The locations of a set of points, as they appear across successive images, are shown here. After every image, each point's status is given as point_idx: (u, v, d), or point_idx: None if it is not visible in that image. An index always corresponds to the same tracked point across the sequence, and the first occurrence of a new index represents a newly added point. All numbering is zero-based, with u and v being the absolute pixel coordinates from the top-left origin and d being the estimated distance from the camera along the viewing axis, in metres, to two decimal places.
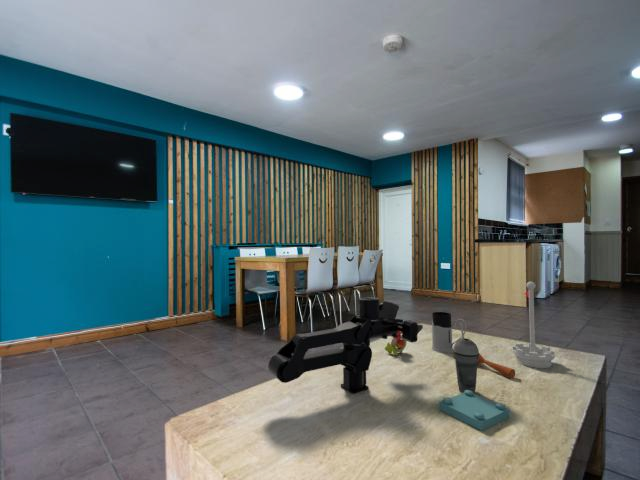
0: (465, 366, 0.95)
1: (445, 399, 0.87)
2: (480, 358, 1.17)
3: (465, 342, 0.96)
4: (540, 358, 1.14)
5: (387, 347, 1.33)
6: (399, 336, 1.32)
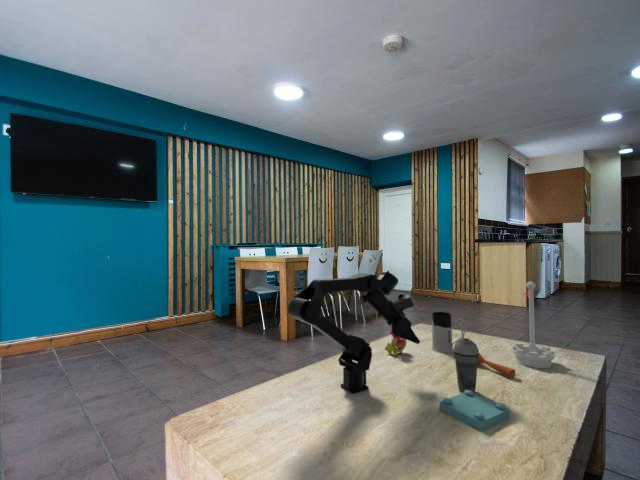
0: (465, 366, 0.95)
1: (445, 399, 0.87)
2: (480, 358, 1.17)
3: (465, 342, 0.96)
4: (540, 358, 1.14)
5: (387, 347, 1.33)
6: None
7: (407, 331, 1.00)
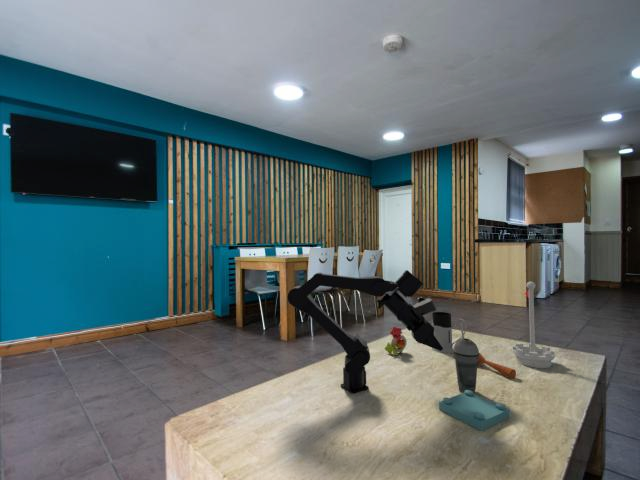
0: (465, 366, 0.95)
1: (445, 399, 0.87)
2: (481, 358, 1.17)
3: (465, 342, 0.96)
4: (540, 358, 1.14)
5: (387, 347, 1.33)
6: (399, 336, 1.32)
7: (429, 337, 0.94)
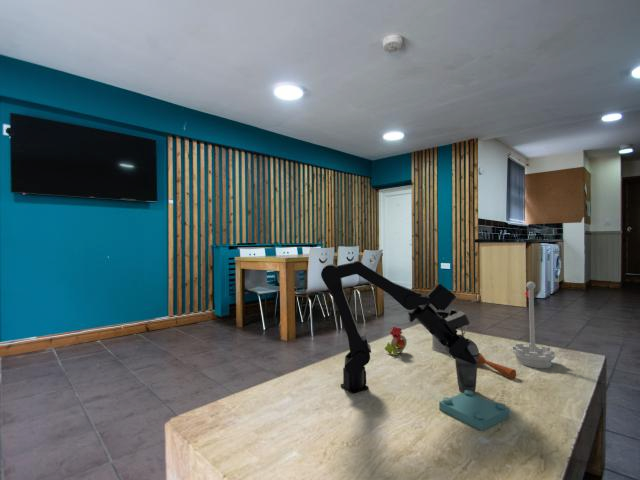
0: (465, 366, 0.95)
1: (445, 399, 0.87)
2: (481, 358, 1.16)
3: None
4: (540, 358, 1.14)
5: (387, 347, 1.33)
6: (399, 336, 1.32)
7: (463, 351, 0.93)
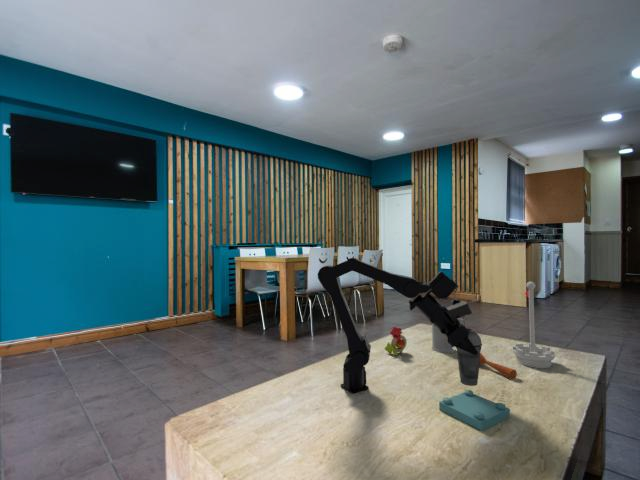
0: (466, 356, 0.93)
1: (445, 399, 0.87)
2: (482, 358, 1.16)
3: None
4: (540, 358, 1.14)
5: (387, 347, 1.33)
6: (399, 336, 1.32)
7: (464, 340, 0.91)
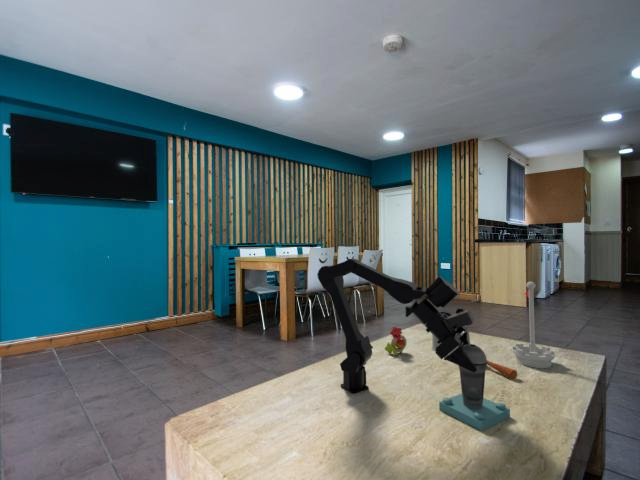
0: (466, 375, 0.83)
1: (445, 399, 0.87)
2: None
3: (468, 348, 0.84)
4: (540, 358, 1.14)
5: (387, 347, 1.33)
6: (399, 336, 1.32)
7: (458, 355, 0.81)
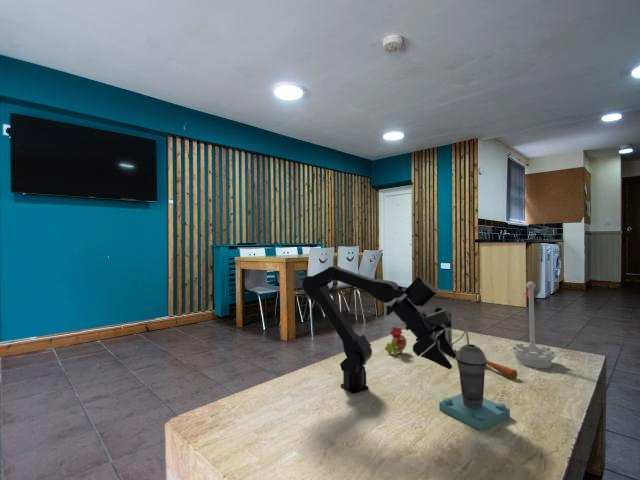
0: (465, 375, 0.83)
1: (445, 399, 0.87)
2: None
3: (467, 348, 0.84)
4: (540, 358, 1.14)
5: (387, 347, 1.33)
6: (399, 336, 1.32)
7: (435, 352, 0.84)
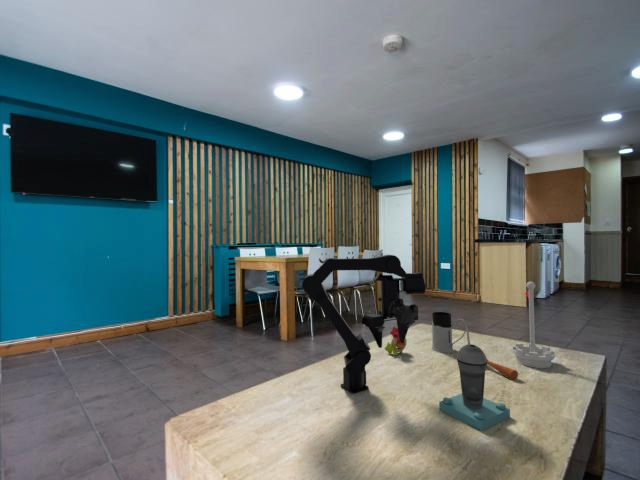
0: (466, 375, 0.83)
1: (445, 399, 0.87)
2: None
3: (467, 348, 0.84)
4: (540, 358, 1.14)
5: (387, 347, 1.33)
6: None
7: (377, 330, 0.98)
